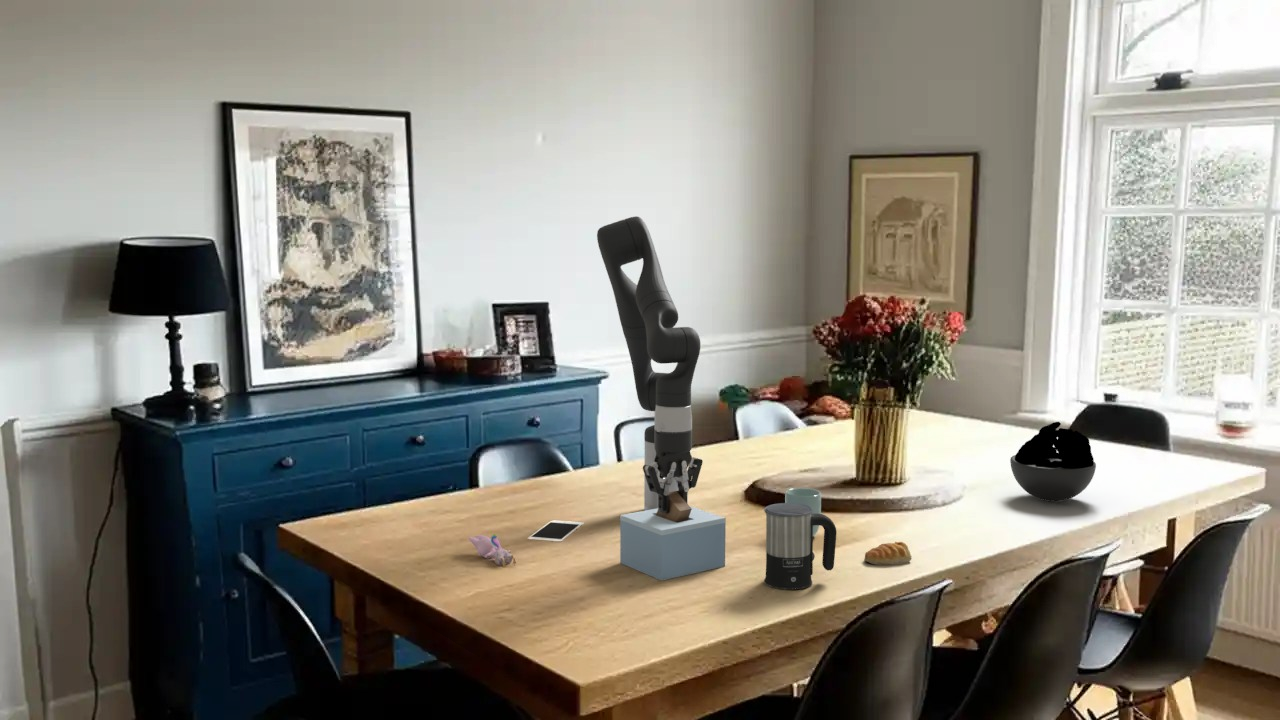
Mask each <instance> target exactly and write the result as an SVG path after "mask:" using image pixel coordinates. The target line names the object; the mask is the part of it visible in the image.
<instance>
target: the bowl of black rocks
mask: <svg viewBox="0 0 1280 720" xmlns="http://www.w3.org/2000/svg"><path fill="white" fill-rule="evenodd" d="M1061 424H1062V423H1061V422H1060V421H1056V422H1052V423H1049V424H1047V425H1045V426H1042V427H1041V428H1040V429H1039V430H1038V433H1037V434H1035V435H1033V437H1032V438H1031V439H1029V440H1027V441H1026V442H1025V443H1024V444H1022V445H1021V447H1020V448H1019V449H1018V451H1017V453H1016V454H1015V455H1012V456H1011V457H1010V459H1009V462H1010V468H1011V472H1012V474H1013V477H1014V479H1015V480H1016V482H1017V484H1018V485H1019V486H1020V487H1021V488H1022V489H1023V490H1024V492H1026V493H1027V494H1029V495H1031V496H1032V497H1035V498H1036V499H1039V500H1042V501H1046V502H1063V501H1064V502H1065V501H1066V500H1071V499H1072V498H1074V497H1076V496H1078V495H1080V494H1081V493H1082V492H1083V491H1084V490H1086V489H1087V488H1088V486H1089V485H1090V483H1091V481H1092V480H1093V478H1094V475H1095V472H1096V468H1097V463H1096V462H1095V461H1094V459H1095V458H1094V456H1093V454H1092V447H1091V444H1090V439H1089V438H1088V437H1087V436H1086V435H1084V434H1083V433H1081V432H1079V431H1078V430H1073V429H1070V428H1063V427H1060V426H1061Z"/></svg>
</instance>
